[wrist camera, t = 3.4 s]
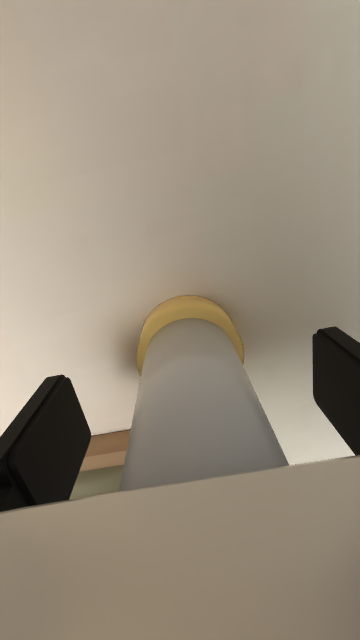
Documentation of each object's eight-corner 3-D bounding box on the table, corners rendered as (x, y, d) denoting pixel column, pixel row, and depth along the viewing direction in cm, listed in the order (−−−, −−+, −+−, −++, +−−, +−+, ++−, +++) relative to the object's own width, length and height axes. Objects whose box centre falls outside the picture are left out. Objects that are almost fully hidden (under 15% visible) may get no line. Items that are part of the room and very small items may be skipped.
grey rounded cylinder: (130, 305, 13) (33, 515, 4) (228, 287, 13) (365, 465, 4) (152, 387, 15) (119, 668, 6) (239, 372, 15) (351, 638, 6)
